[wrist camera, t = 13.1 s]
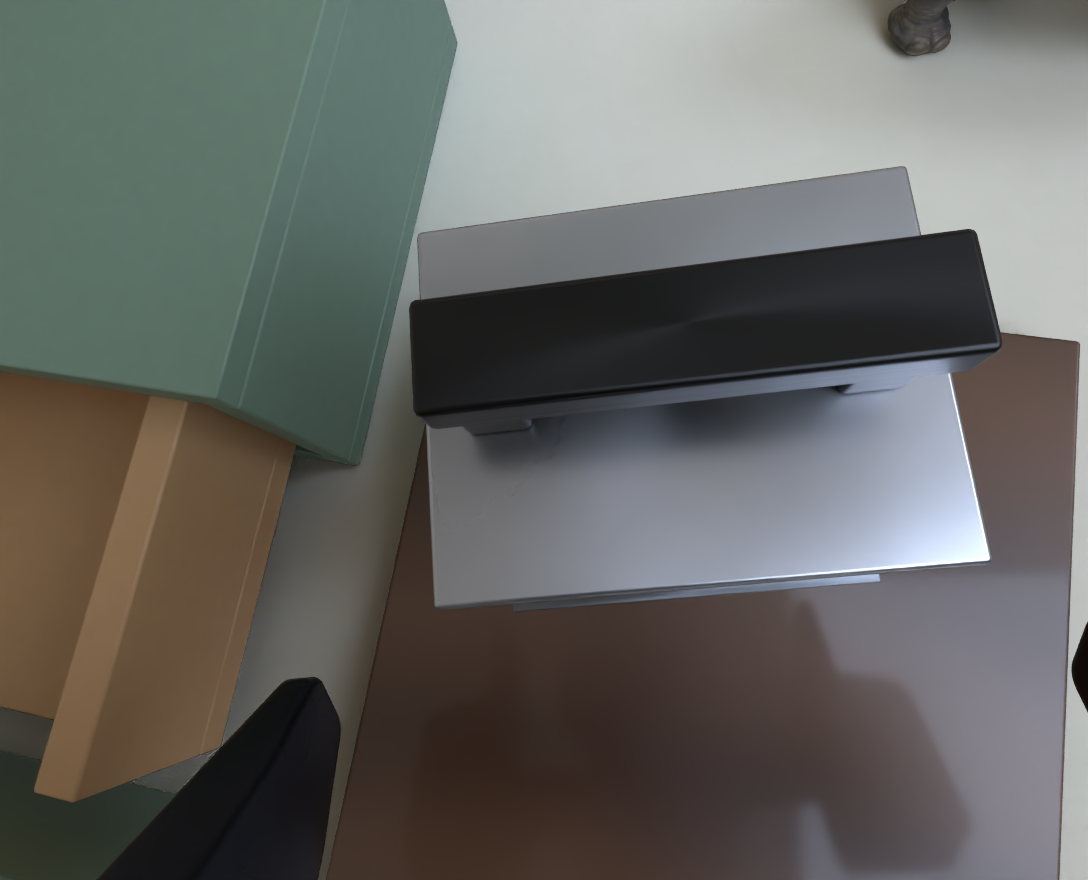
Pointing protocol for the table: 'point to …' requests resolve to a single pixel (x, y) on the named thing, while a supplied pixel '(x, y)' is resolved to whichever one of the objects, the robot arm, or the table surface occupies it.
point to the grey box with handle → (699, 396)
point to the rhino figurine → (920, 26)
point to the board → (745, 704)
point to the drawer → (120, 603)
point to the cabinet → (216, 199)
